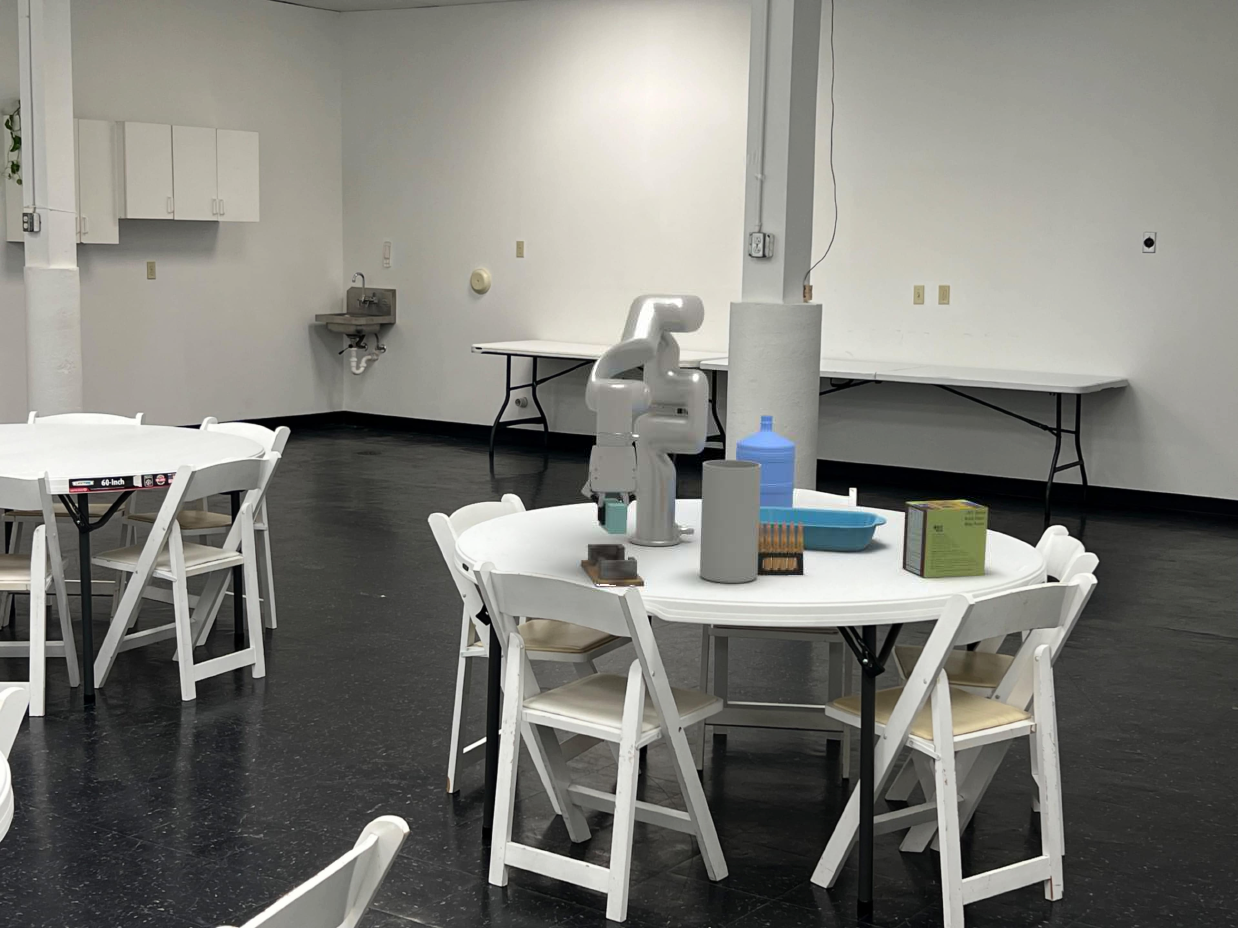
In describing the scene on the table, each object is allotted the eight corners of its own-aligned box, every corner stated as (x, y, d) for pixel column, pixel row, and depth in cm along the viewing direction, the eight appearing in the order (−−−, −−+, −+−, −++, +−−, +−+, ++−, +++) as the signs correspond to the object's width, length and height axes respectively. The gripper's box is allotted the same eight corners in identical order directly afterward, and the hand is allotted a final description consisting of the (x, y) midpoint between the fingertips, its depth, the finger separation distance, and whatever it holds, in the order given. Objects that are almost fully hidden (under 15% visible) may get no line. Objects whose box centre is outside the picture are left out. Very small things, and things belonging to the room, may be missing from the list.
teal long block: (614, 525, 310) (615, 498, 309) (626, 533, 296) (627, 505, 296) (598, 525, 309) (599, 498, 309) (609, 534, 296) (610, 505, 295)
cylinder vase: (724, 568, 313) (728, 458, 310) (768, 578, 305) (772, 464, 301) (687, 576, 304) (690, 463, 301) (732, 586, 296) (736, 470, 292)
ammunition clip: (755, 575, 308) (757, 521, 306) (754, 573, 309) (755, 520, 308) (803, 575, 308) (805, 522, 306) (801, 573, 310) (804, 520, 308)
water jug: (804, 522, 372) (808, 417, 368) (759, 527, 363) (763, 420, 359) (766, 513, 385) (770, 411, 381) (722, 518, 376) (725, 414, 372)
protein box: (985, 575, 312) (989, 507, 310) (923, 578, 308) (927, 509, 305) (961, 565, 322) (964, 499, 320) (900, 568, 317) (904, 501, 315)
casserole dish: (727, 546, 339) (728, 517, 338) (742, 530, 360) (743, 503, 359) (881, 557, 330) (882, 527, 329) (887, 540, 351) (889, 512, 350)
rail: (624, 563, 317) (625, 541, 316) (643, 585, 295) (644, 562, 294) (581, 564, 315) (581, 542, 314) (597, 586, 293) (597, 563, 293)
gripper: (648, 438, 306) (646, 520, 308) (573, 438, 303) (571, 521, 305) (655, 442, 299) (653, 526, 301) (578, 442, 296) (576, 527, 298)
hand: (612, 523), depth 303 cm, fingers closed on teal long block, 3 cm apart
